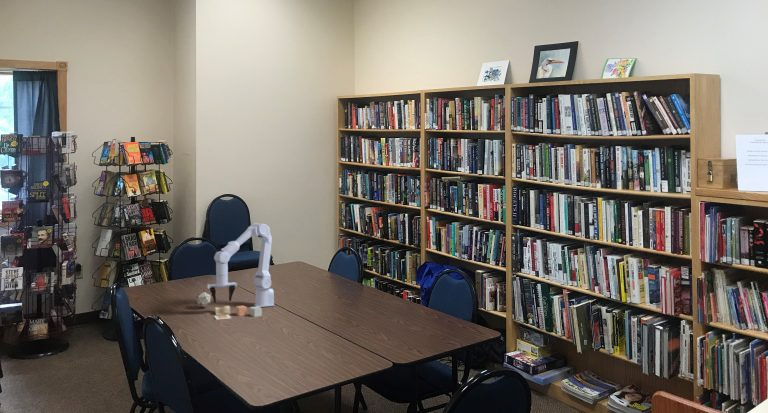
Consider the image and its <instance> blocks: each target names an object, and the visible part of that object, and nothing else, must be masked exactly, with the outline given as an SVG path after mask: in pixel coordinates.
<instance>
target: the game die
mask: <svg viewBox="0 0 768 413" xmlns="http://www.w3.org/2000/svg"><path fill="white" fill-rule="evenodd" d="M212 297H213V296H212V294H210V293H208V292H205V291H202V292H201V293H199V294H198V293H197V295H196V302H195V304H196V305H197V304H198V305H200V306H201V307H203V308H204V309H205V308H206V307H207V306H208V305H211V303H213V301H212Z"/></svg>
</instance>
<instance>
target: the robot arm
mask: <svg viewBox="0 0 768 413" xmlns="http://www.w3.org/2000/svg"><path fill="white" fill-rule="evenodd" d="M251 237H257V238H258V239H259V240H260V241H261V243H260V251H259V261H258V269H257V271H256V272H255V274H254V277H253V281H252V284H253V286H255V287H254V289H255V290H254V291H255V303H253V306H254V307H255V306H257V307H261V308H262V307H263V308H265V307H274V306H275V294H274V293H275V292H274V289H273V288H271V286H272V280H271V278H272V277H271V276H272V275H271V273H270V272H269V269H270V261H271V252H272V243H273V237H272V233H271V228H270V227H269V226H268V225H267V224H266V223H258V222H254V223H251V225H249V226H248V227H247V229H245V231H244V232H243V233H242V234H241V235H240V236H239V237H238V238H237V239H235V240H231V241H228V242H227V244H226V246H224V247H223V248H222V247H221V249H220V251H216V252H215V254H214V256H213V259H214V262H215V275H216V276H215V278H216V282H215V283H207V286H206V287H207V289H208V290H209V291H210V293H211V295H212V296H211V297H212V299H213V303H216V302H217V298H216V292H217V290H216V289H217V288H228V301H229V302H231V301H232V297H233V294H234V292H235V290H236V287H237V286H238V283H237V281H236V282H233V281H231V282H230V281H229V265H228V262H230V259H231V257H233V255H234V254H236V253H237V252H238V251H239V250H240V246H241V245H243V244H244V243H245V242H247V241H248V239H250V238H251Z"/></svg>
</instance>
